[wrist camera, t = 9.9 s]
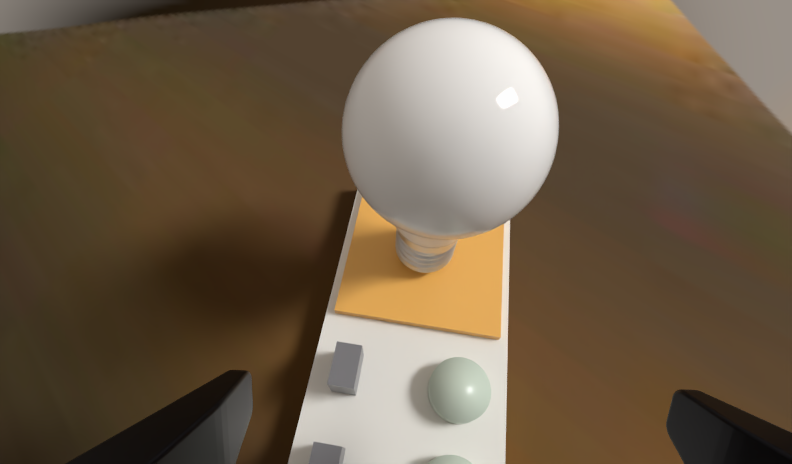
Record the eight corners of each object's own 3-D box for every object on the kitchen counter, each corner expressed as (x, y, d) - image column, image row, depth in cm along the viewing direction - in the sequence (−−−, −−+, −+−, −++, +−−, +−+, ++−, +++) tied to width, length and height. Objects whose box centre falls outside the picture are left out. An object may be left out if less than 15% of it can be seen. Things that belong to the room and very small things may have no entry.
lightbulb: (458, 344, 17) (557, 189, 8) (329, 277, 18) (275, 73, 9) (509, 229, 20) (627, 13, 10) (394, 179, 21) (407, -54, 12)
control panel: (489, 752, 12) (515, 820, 10) (235, 697, 13) (202, 749, 10) (504, 211, 22) (519, 180, 20) (361, 190, 23) (359, 156, 20)
